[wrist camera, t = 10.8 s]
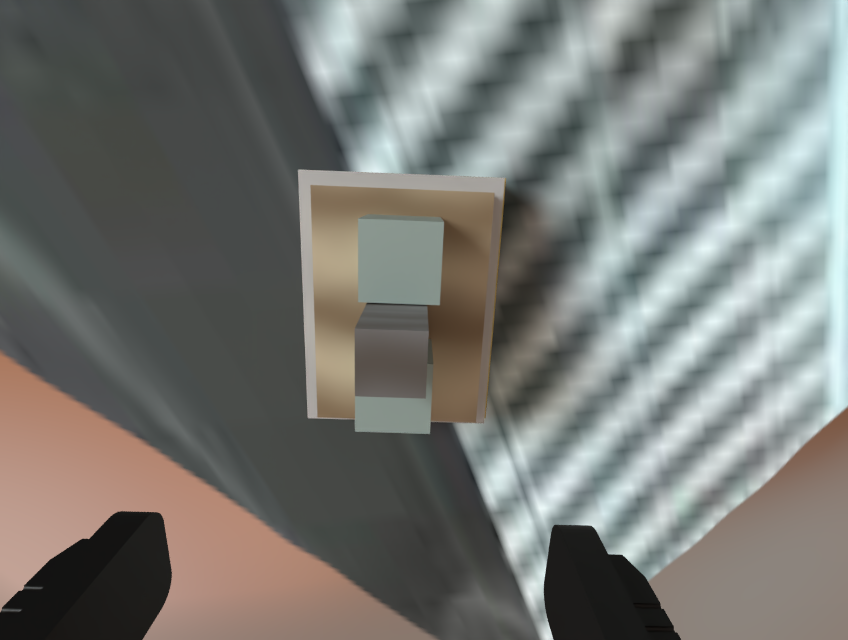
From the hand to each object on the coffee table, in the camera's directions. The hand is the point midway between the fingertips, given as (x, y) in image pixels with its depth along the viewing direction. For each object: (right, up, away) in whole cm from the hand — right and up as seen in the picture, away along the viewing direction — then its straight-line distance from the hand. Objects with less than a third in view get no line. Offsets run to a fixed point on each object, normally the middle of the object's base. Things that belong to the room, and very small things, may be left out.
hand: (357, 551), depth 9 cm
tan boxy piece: (0, +6, +19) cm, 20 cm away
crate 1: (0, +9, +16) cm, 18 cm away
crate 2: (0, +2, +18) cm, 18 cm away
